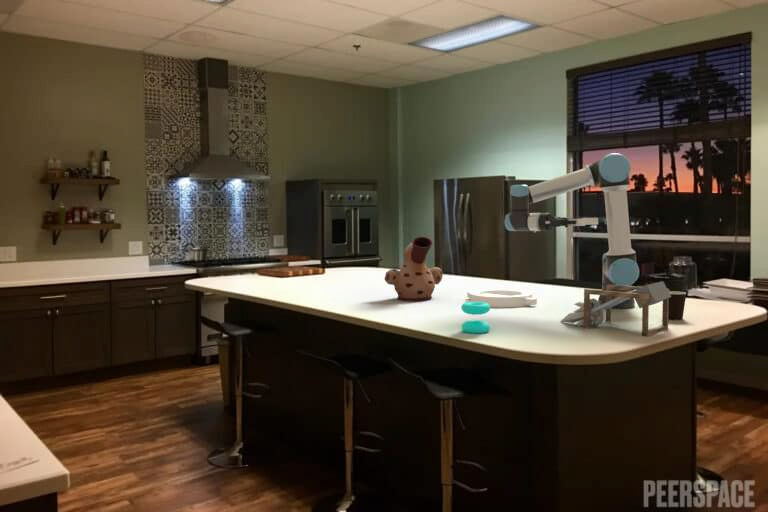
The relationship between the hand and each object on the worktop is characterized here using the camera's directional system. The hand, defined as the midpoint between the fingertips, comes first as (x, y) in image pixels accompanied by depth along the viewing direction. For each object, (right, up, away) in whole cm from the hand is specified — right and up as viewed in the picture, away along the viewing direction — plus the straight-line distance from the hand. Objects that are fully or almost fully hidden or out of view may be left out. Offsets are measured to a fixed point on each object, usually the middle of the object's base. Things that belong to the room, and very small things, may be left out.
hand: (591, 221), depth 256 cm
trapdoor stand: (+4, -39, -23) cm, 46 cm away
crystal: (-4, -34, -19) cm, 39 cm away
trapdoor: (+7, -33, -27) cm, 43 cm away
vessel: (-66, -34, +54) cm, 92 cm away
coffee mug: (+30, -38, -4) cm, 48 cm away
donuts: (-49, -40, -26) cm, 69 cm away
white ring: (-28, -35, +41) cm, 61 cm away
